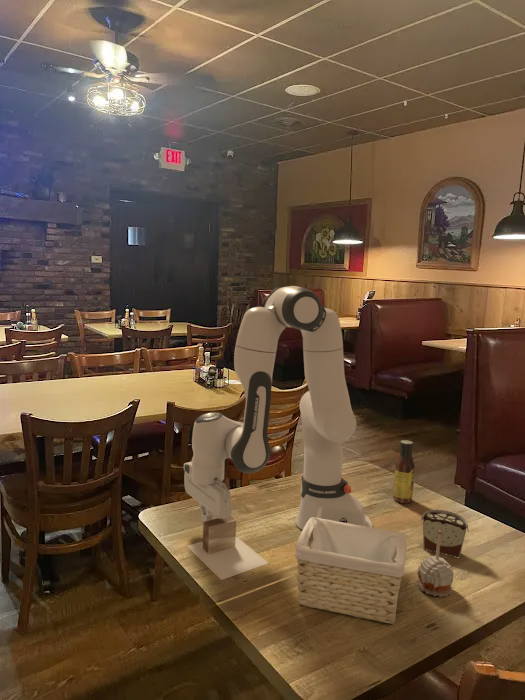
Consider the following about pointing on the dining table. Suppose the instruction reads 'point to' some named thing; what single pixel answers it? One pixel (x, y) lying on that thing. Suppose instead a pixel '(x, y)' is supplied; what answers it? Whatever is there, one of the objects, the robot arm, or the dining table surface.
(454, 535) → the food container
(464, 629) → the dining table surface
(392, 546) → the storage basket
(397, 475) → the sauce bottle
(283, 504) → the dining table surface
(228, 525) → the walnut block
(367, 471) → the dining table surface
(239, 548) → the white rectangular sheet
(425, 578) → the candy apple
